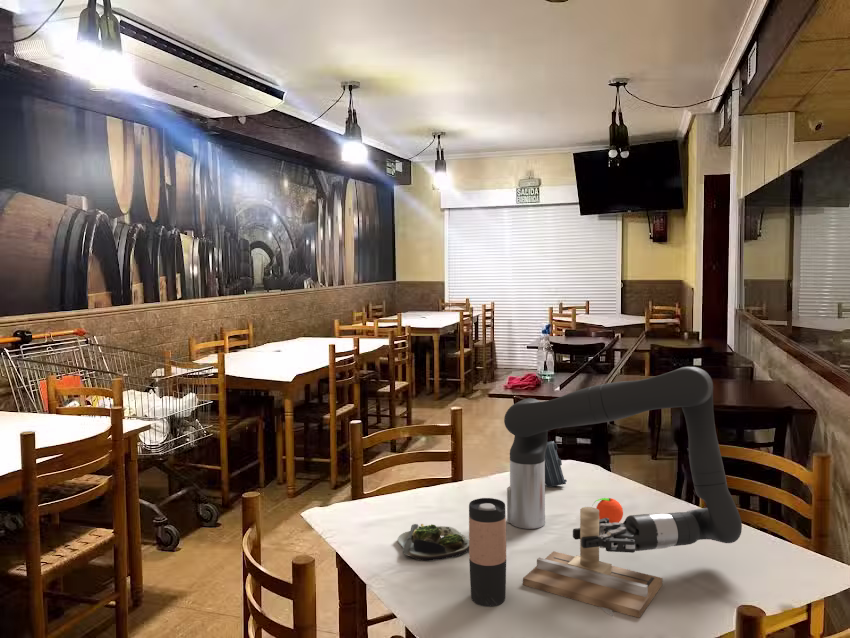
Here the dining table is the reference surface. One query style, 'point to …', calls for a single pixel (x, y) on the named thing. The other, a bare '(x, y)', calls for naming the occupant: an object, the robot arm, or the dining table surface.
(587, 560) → the post
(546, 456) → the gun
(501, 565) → the travel mug
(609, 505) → the clementine
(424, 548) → the salad plate
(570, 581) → the board
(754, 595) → the dining table surface
